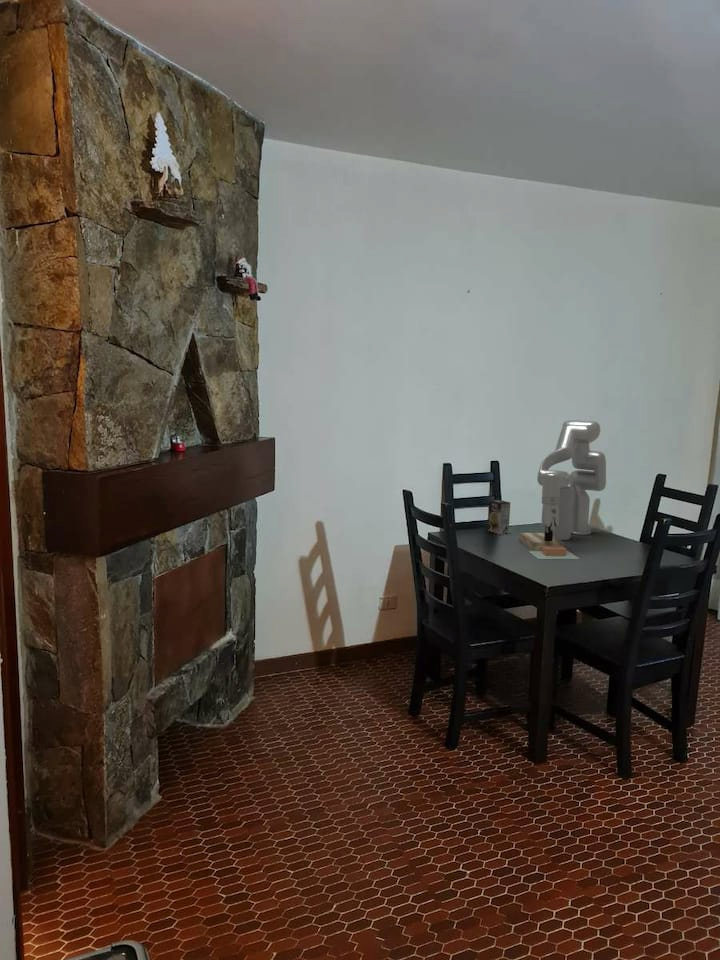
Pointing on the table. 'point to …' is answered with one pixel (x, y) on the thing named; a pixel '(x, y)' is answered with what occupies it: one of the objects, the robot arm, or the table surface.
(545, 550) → the thick terracotta block
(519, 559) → the table surface
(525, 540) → the board
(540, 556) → the mat
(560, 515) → the cylinder vase
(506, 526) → the coffee box
